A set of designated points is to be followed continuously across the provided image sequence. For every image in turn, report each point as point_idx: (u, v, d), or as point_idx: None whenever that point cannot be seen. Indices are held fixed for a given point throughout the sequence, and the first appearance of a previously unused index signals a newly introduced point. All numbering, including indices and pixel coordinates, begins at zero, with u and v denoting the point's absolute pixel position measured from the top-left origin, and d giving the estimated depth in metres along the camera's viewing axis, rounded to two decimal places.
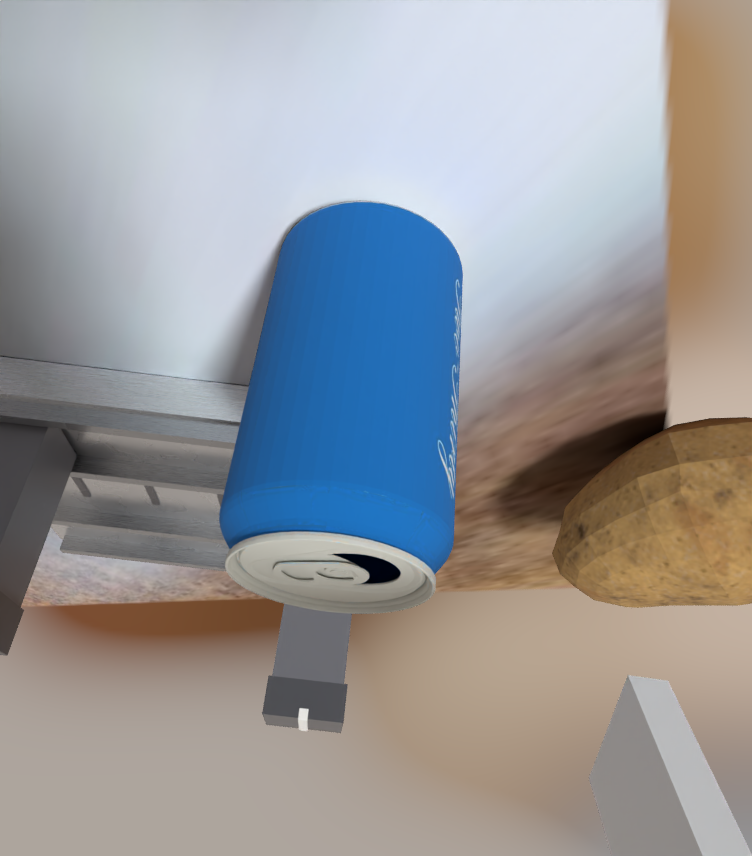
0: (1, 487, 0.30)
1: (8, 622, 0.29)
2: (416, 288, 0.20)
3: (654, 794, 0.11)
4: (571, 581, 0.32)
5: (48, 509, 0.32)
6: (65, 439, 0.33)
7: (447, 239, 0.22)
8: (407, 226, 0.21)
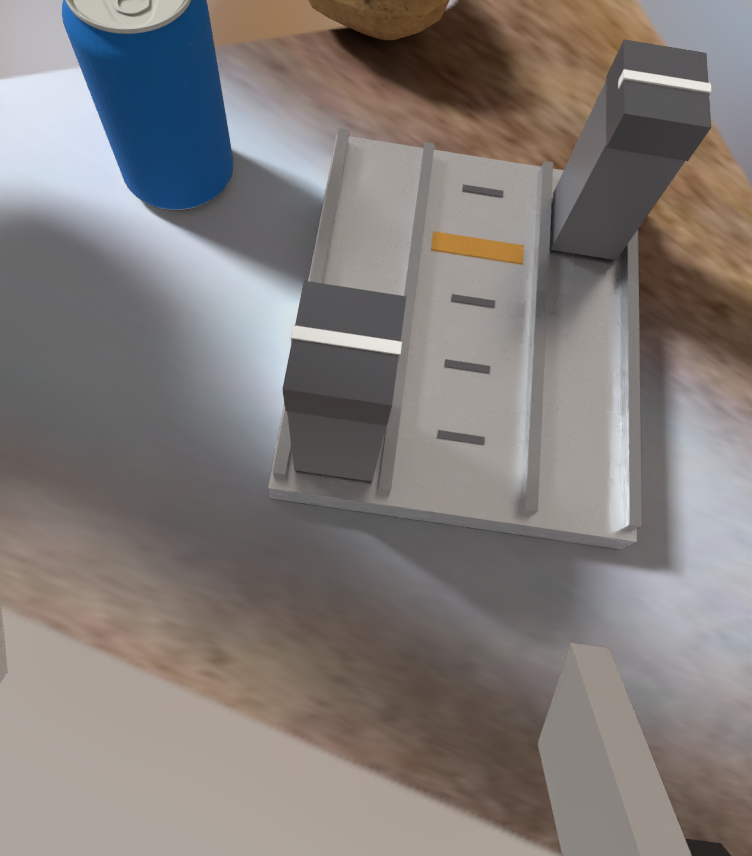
0: None
1: None
2: None
3: (587, 752, 0.12)
4: None
5: None
6: None
7: None
8: None
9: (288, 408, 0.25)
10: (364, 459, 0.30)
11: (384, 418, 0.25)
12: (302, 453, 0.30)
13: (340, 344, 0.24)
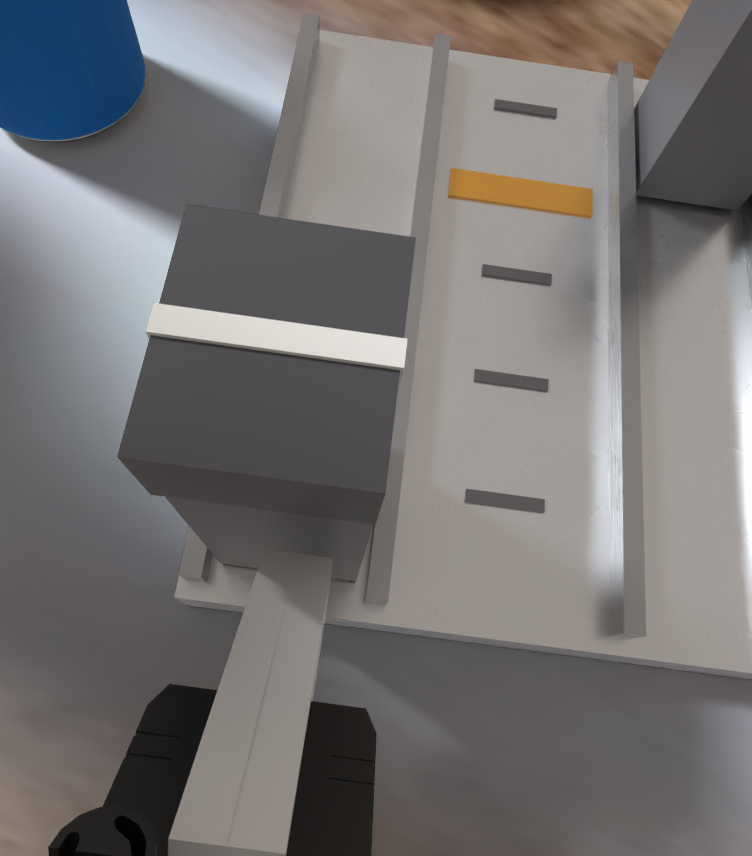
0: None
1: None
2: None
3: None
4: None
5: None
6: None
7: None
8: None
9: (154, 490, 0.11)
10: (338, 559, 0.16)
11: (369, 512, 0.11)
12: (224, 547, 0.16)
13: (263, 346, 0.10)
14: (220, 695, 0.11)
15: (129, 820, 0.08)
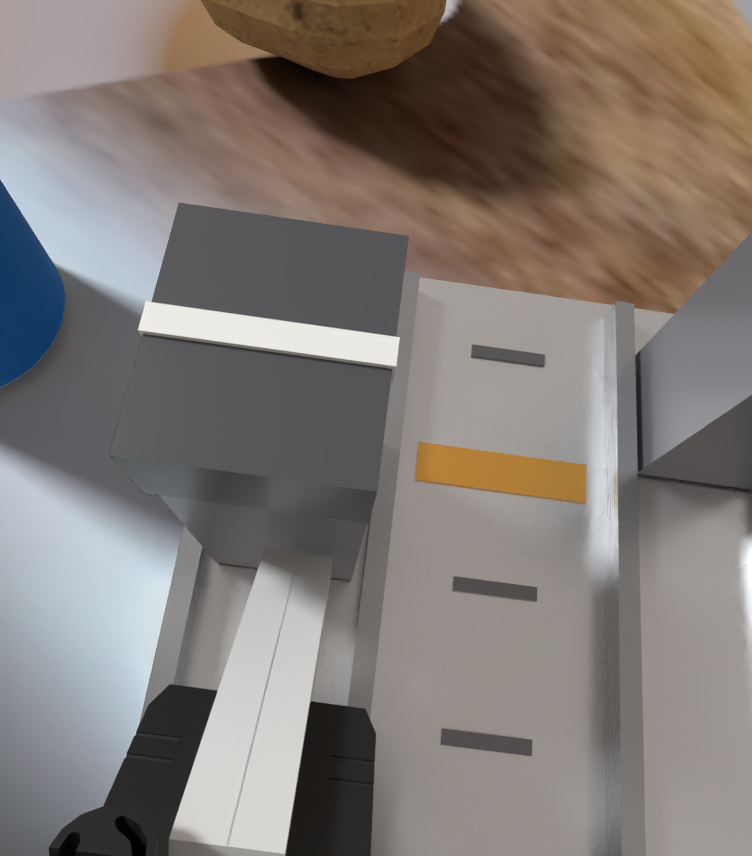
0: None
1: None
2: None
3: None
4: None
5: None
6: None
7: None
8: None
9: (147, 489, 0.11)
10: (332, 557, 0.16)
11: (362, 511, 0.11)
12: (220, 546, 0.16)
13: (255, 345, 0.10)
14: (220, 695, 0.11)
15: (130, 820, 0.08)
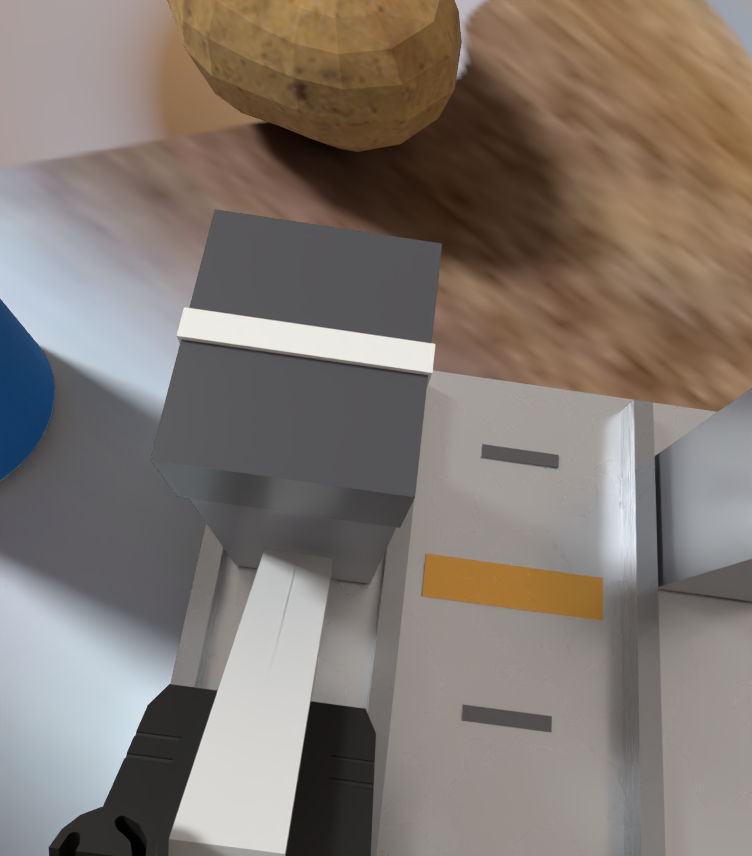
0: None
1: None
2: None
3: None
4: (387, 59, 0.20)
5: None
6: None
7: None
8: None
9: (182, 493, 0.11)
10: (355, 561, 0.16)
11: (395, 516, 0.11)
12: (242, 549, 0.17)
13: (293, 351, 0.10)
14: (220, 695, 0.11)
15: (130, 820, 0.08)
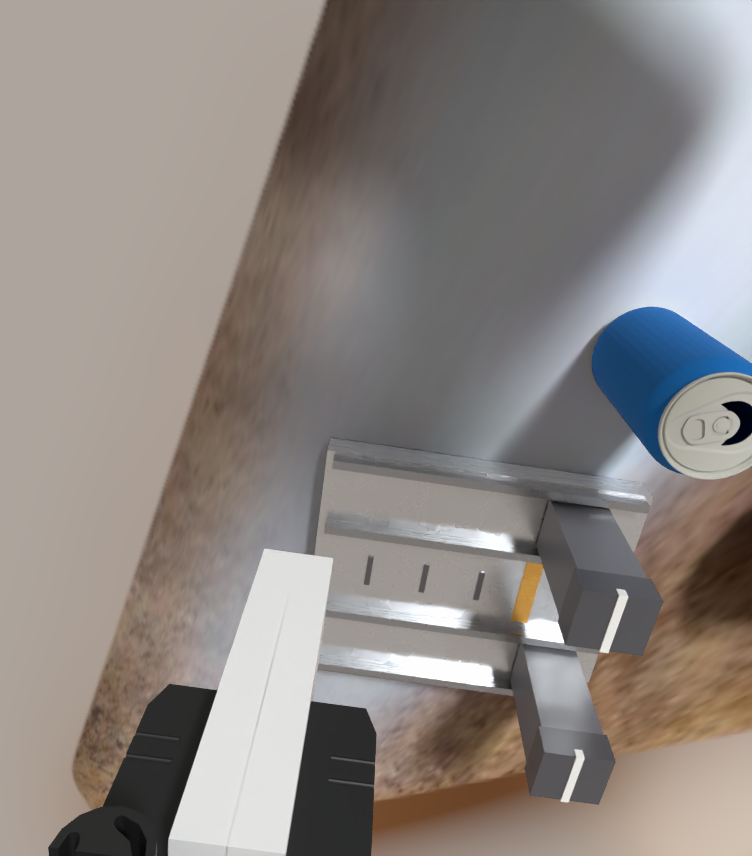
0: (611, 536, 0.42)
1: None
2: None
3: None
4: None
5: None
6: None
7: None
8: (679, 315, 0.41)
9: (574, 573, 0.38)
10: (547, 565, 0.44)
11: (560, 627, 0.39)
12: (556, 526, 0.43)
13: (610, 621, 0.37)
14: (220, 695, 0.11)
15: (129, 820, 0.08)
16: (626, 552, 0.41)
